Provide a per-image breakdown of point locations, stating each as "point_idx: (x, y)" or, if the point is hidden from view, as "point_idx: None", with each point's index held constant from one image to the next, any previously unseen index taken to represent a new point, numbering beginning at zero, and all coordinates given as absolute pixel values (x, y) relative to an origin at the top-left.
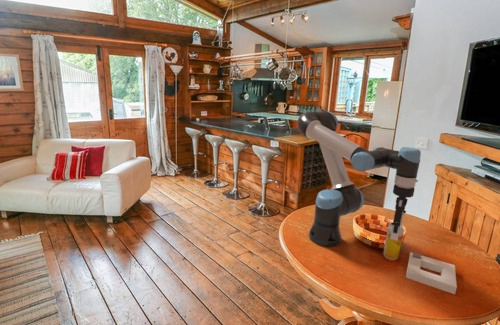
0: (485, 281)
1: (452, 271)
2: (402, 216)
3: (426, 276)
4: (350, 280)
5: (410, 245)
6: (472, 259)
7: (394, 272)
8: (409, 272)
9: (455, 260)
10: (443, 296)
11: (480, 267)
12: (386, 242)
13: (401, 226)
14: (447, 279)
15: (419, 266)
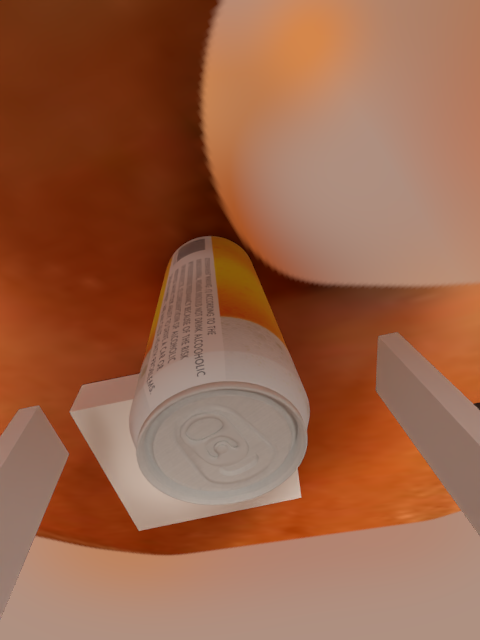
0: (302, 524)
1: (243, 503)
2: (469, 514)
3: (110, 467)
4: None
5: (425, 312)
6: (432, 483)
7: (73, 340)
8: (75, 418)
9: (389, 457)
10: (95, 487)
11: (387, 504)
12: (166, 292)
13: (278, 472)
14: (164, 508)
15: None
